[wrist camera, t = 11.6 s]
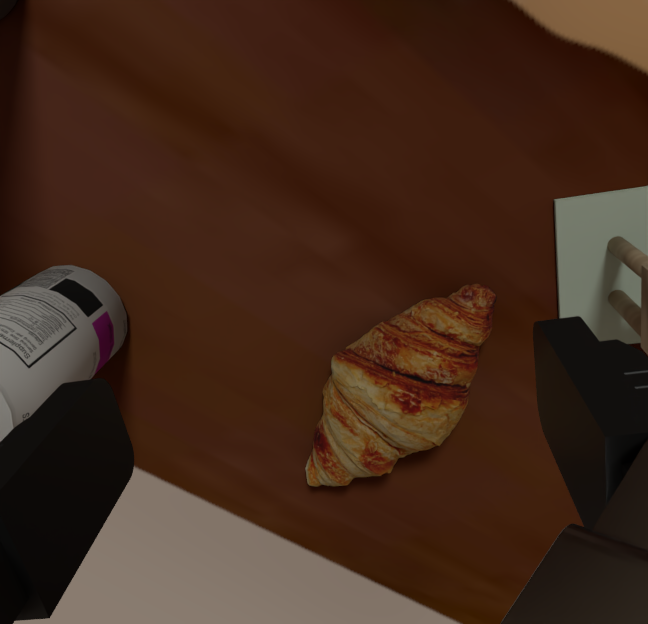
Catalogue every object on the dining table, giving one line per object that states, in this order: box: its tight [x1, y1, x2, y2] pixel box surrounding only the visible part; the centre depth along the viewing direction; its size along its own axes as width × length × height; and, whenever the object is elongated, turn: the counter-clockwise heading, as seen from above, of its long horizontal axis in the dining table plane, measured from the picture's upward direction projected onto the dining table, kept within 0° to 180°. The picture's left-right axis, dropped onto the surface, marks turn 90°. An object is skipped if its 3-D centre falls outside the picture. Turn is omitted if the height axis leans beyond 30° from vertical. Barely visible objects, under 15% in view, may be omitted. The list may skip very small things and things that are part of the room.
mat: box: [554, 186, 648, 344], centre depth 42 cm, size 11×11×1 cm
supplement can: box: [0, 265, 127, 442], centre depth 41 cm, size 8×8×15 cm
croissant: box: [306, 284, 497, 487], centre depth 45 cm, size 21×10×8 cm, turn 146°
